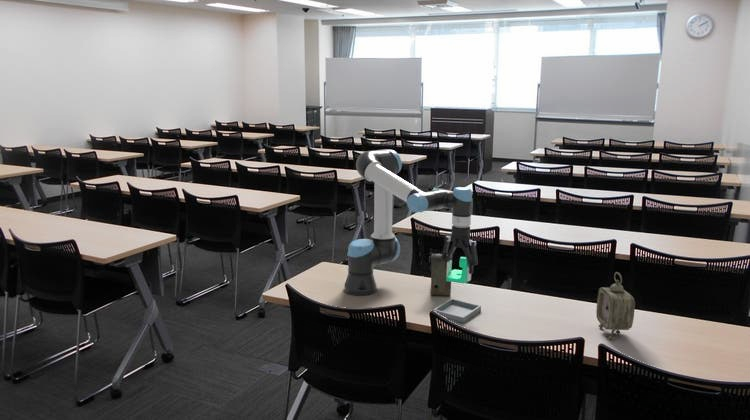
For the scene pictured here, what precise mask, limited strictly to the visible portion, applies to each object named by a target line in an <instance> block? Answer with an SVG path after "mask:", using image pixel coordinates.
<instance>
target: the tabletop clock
mask: <svg viewBox="0 0 750 420" xmlns="http://www.w3.org/2000/svg"><path fill="white" fill-rule="evenodd" d="M613 274H614V275H613V278H614V279H613V280H614V281H615V283H612V284H611V285H610V287H605V286H604V287H599V288H598V292H597V300H596V313H595V314H596V318H597V321H598V323H599V325H598V328H599V327H600V329H602V328H604V330H610V331H611V334H610V335H609V336H608V339H609V340H610V339H612V340H613V339H614V336H613V335H614V334H616V333H617V334H616V335H620V334H621V331H628V330H631V329H632V327H633V322H634V317H635V307H636V302H635V301H636V300H635V298H634V297H633V295H632V294H630V292H628V291H626V290H625V289H624V286H623V285H622V283H623V277H622V275H621V273H620V272H618V271H615V272H614V273H613ZM616 275H618V276H619V278H620V280H619V279H616V278H617V277H616Z"/></svg>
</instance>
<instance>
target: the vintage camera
mask: <svg viewBox="0 0 750 420" xmlns="http://www.w3.org/2000/svg"><path fill="white" fill-rule="evenodd" d="M441 256H442V253H434V252H433V253H432V254H431V256H430V263H431V272H430V273H431V275H430V277H431V279H430V296H433V297H434V296H437V297H439V296H440V297H451V295H452V293H451V292H452V291H451V290H452V282H450V281H446V276H447V268H445V260H444V259H441ZM451 261H452V262H453V256H452V257H451ZM452 270H453V266H452V267H451V271H452Z"/></svg>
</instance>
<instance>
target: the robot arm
mask: <svg viewBox="0 0 750 420" xmlns="http://www.w3.org/2000/svg"><path fill="white" fill-rule="evenodd" d="M402 166H403V163H402V159H401V157H400V155H399V154H398V152H397V151H395V150H393V149H377V150H375V149H374V150H367V151H364V152H362V153H361V154H359V156H358V157H357V159H356V162H355V168H356V171H357V173H358V174H359V175H360V177H362V178H363V179H364V180H365V181H367V182H373V183H374V196H373V197H374V207H373V208H374V210H373V213H374V214H373V216H374V219H373V221H374V222H373V223H374V224H373V233H371V235H370V239H369V238H362V239H361V238H360V239H359V238H358V239H355V240H353V241H351V242H350V243H349V244H348V249H347V250H348V251H347V257H348V258H347V261H348V262H347V266H348V267H347V271H348V272H347V273H348V274H347V276H346V279H345V282H344V288H343V289H344V292H345V293H346V294H349V295H351V296H353V295H354V296H368V295H373V294H374V293H376V292H377V290H378V287H377V283H376V280H375V275H374V267H375V266H379V265H383V264H389V263H391V262H394V261H395V260H397V259H398V257H399V256H400V253H401V245H400V243H399V240H398V239H397V238H396V235H395V234H394V233H393V205H394V204H393V196H396V197H397V198H399V199H400V200H402V201H403V202H405V203H406V205H407V208H408V209H409V211H411V212H412V213H424V212H427V211H432V210H433V211H434V210H439V209H448V210H452V211H451V212H452V214H451V215H452V216H451V236H449V235H447V236H444V238H443V239H444V240H443V241H444V243H443V248H442V253H441V254H442V256H441V259H444V260H445V268H447V276H448V275H449V274H450V273H451V267H452V268H453V260H452V261H451V257H452V258H453V255H454V253H455V251H456V249H457V248H459V249H462V251H463V253H464V257H466V259H467V262H468V264H469V265H468V266H467V276H466V281H467V283H468V282H470V281H471V280H472V274H474V266H476V265H478V264H479V259H478V253H477V251H478V250H477V242H478V241H477V240H474V241H473V240H472V239H471V237H470V236H471V221H472V219H471V216H472V213H471V212H472V202H473V197H472V196H473V193H472V189H471V188H470V187H462V186H457V187H454V188H453V190H449V189H443V188H437V187H435V188H433V189H432V190H430V191H426V192H425V191H423V190H421V189H419V188H418V187H416V186H414V185H413V184H411V183H409V181H406V180H404V179H403V178H402V177H400V176H398V175H397V174H398V173H400V172H401V170H402ZM450 242H452V244H451V243H450ZM450 244H451V246H450ZM469 246H470V247H469ZM449 248H450V249H449ZM447 276H446V277H447Z"/></svg>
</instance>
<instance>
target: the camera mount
mask: <svg viewBox="0 0 750 420" xmlns="http://www.w3.org/2000/svg"><path fill="white" fill-rule="evenodd" d="M458 264H459V265H458V266H459V268H462V269H456V268H455V269H452V271H451V273H450V274H449V275H448V276H447V277H446V281H450V282H451V283H456V284H462V285H464V284H467V283H468V282H467V281H466V276H467V266H468V265H469V264H468V262H467V259H466V256H460V258H459V262H458Z"/></svg>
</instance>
